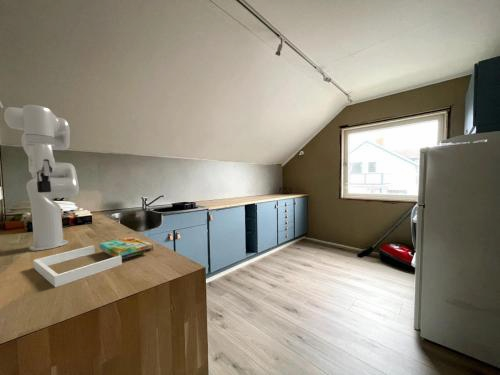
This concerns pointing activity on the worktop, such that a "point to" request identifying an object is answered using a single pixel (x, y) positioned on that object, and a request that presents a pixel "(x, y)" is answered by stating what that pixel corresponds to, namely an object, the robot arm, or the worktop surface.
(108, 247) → the puzzle game
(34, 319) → the worktop surface
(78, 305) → the worktop surface
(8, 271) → the worktop surface
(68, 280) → the frame
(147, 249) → the rail
